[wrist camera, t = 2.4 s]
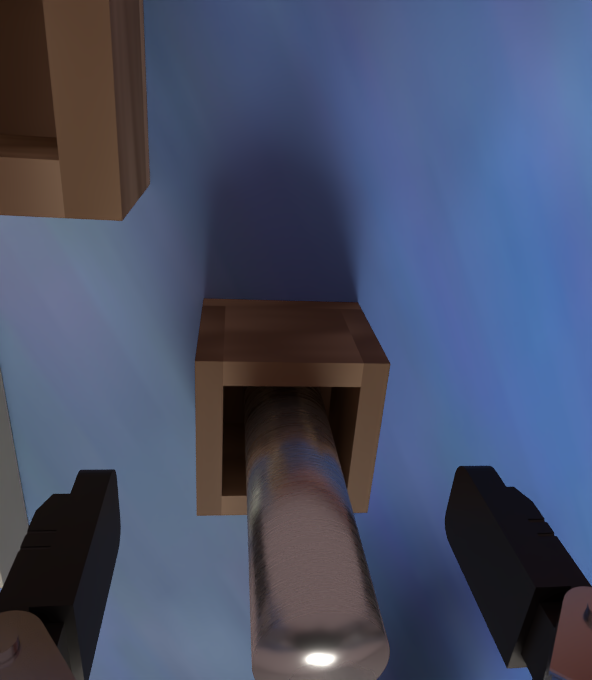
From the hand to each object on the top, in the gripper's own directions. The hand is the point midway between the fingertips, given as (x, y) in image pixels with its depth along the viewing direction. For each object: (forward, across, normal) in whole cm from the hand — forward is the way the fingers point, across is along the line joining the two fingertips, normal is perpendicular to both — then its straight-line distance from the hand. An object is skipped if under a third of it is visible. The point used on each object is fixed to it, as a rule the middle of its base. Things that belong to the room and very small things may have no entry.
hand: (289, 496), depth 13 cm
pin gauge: (+6, 0, 0) cm, 6 cm away
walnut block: (+7, 0, 0) cm, 7 cm away
